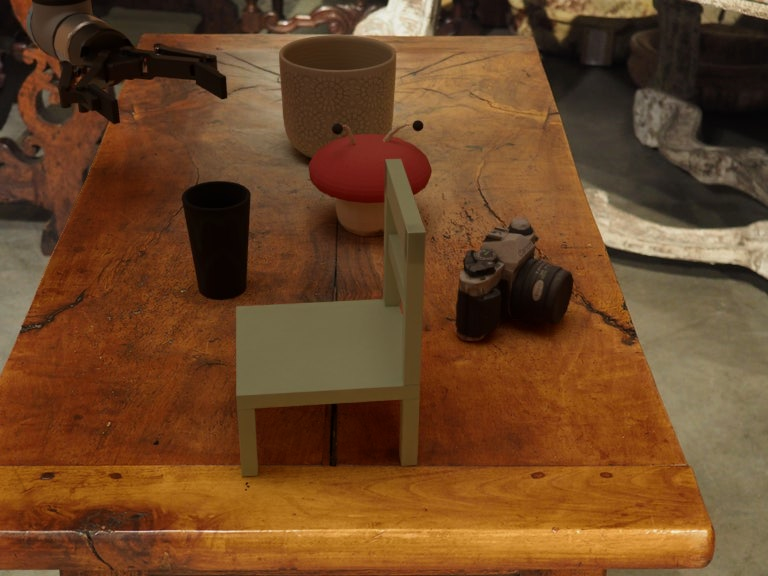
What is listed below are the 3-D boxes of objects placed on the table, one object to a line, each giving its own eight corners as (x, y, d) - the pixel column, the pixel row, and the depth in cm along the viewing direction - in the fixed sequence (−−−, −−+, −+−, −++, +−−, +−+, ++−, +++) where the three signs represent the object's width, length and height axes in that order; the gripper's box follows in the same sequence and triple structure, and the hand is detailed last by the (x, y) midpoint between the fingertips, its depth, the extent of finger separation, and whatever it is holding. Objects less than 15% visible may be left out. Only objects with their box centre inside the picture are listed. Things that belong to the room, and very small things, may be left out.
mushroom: (324, 258, 132) (322, 145, 125) (298, 204, 146) (295, 99, 138) (445, 244, 136) (450, 133, 129) (409, 193, 149) (412, 90, 142)
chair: (241, 477, 96) (225, 240, 84) (240, 381, 109) (226, 164, 97) (417, 465, 98) (426, 231, 86) (396, 372, 111) (401, 158, 99)
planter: (317, 182, 152) (315, 78, 144) (262, 143, 164) (258, 45, 157) (416, 158, 160) (419, 58, 152) (357, 122, 172) (357, 28, 165)
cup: (251, 269, 130) (247, 178, 124) (259, 300, 123) (254, 206, 117) (187, 275, 128) (179, 183, 122) (191, 307, 122) (183, 212, 116)
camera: (531, 364, 113) (539, 281, 108) (444, 337, 117) (448, 256, 112) (584, 299, 125) (594, 222, 120) (503, 276, 129) (510, 201, 124)
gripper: (185, 61, 145) (267, 108, 131) (4, 98, 132) (71, 155, 118) (181, 6, 141) (264, 48, 127) (-7, 39, 129) (61, 89, 114)
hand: (171, 99), depth 122 cm, fingers open, 13 cm apart
